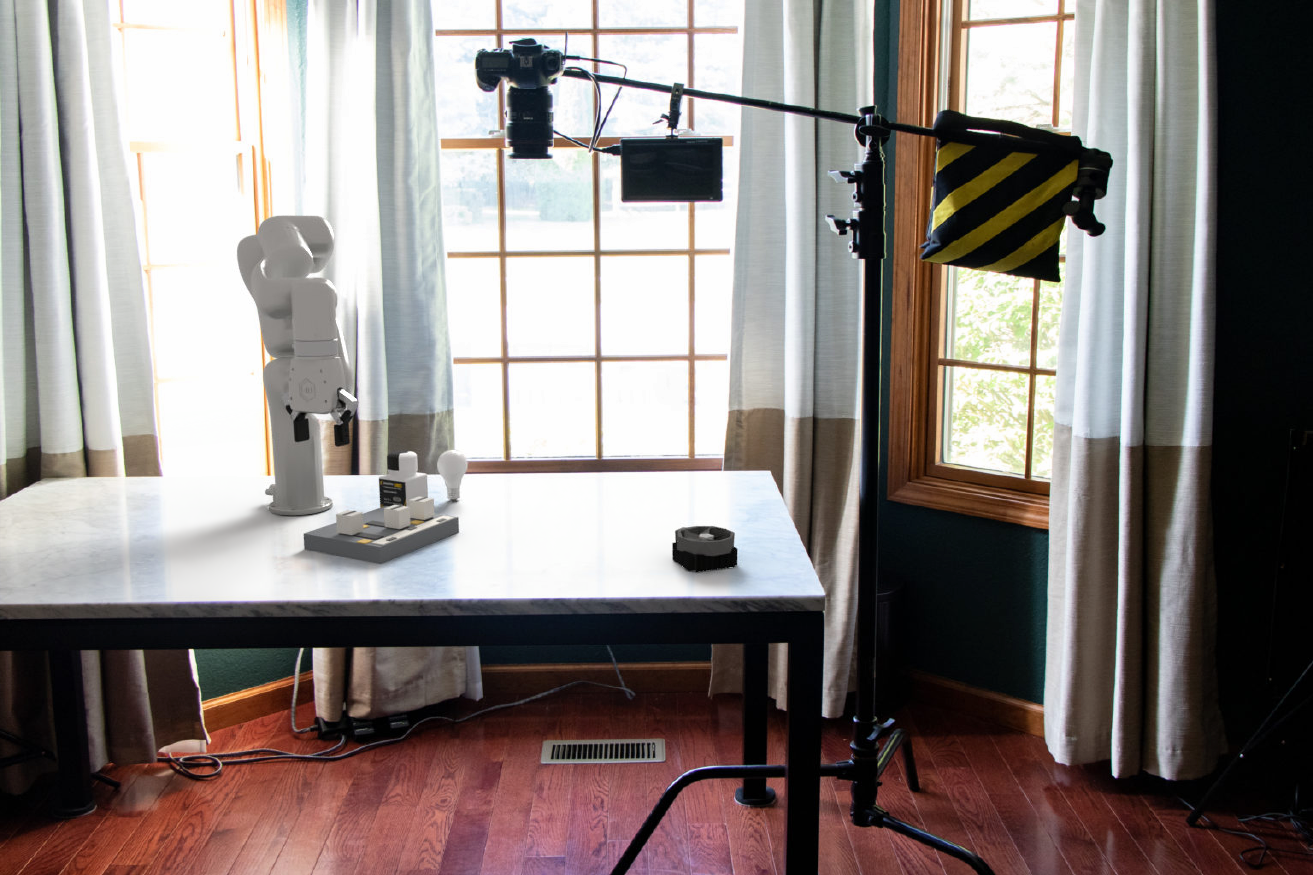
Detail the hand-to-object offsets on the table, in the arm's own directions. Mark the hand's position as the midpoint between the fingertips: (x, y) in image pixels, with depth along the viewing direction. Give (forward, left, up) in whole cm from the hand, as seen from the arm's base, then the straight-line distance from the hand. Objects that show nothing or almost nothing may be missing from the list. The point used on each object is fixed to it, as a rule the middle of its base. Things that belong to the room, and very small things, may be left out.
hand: (322, 443), depth 197 cm
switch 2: (+12, +6, -16) cm, 20 cm away
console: (+8, +6, -19) cm, 21 cm away
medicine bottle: (-4, +26, -19) cm, 32 cm away
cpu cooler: (+67, +22, -19) cm, 73 cm away
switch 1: (+7, -1, -15) cm, 17 cm away
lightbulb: (+1, +36, -19) cm, 40 cm away
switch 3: (+12, +13, -15) cm, 23 cm away
